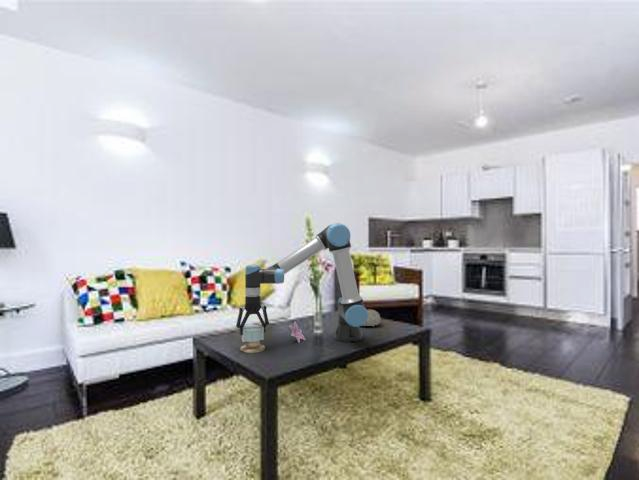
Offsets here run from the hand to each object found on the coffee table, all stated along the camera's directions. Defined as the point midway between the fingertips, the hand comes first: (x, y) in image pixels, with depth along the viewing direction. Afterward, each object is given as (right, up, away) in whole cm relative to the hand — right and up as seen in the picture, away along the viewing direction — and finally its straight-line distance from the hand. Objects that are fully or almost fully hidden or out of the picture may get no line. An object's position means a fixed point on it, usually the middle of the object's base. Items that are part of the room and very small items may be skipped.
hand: (252, 340), depth 186 cm
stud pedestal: (0, -4, 0) cm, 4 cm away
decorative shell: (+64, -5, +53) cm, 84 cm away
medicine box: (-4, -5, +14) cm, 16 cm away
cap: (0, +1, 0) cm, 1 cm away
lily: (+21, -5, +16) cm, 27 cm away
